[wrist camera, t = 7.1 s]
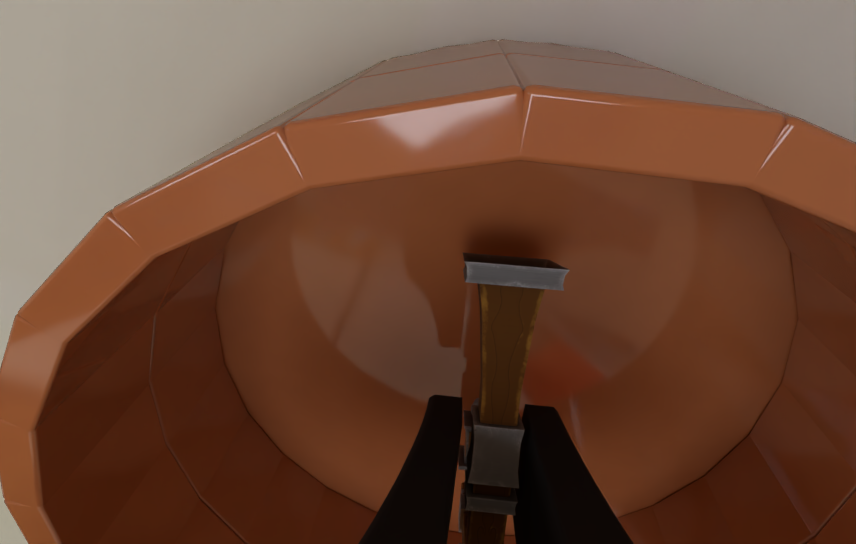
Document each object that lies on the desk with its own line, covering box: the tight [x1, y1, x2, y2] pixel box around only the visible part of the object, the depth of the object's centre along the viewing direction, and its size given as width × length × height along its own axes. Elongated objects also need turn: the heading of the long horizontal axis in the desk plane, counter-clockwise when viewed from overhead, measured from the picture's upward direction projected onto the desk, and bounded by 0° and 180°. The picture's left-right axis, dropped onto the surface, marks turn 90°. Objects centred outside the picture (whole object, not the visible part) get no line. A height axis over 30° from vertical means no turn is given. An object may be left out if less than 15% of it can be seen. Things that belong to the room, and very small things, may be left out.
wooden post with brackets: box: [458, 253, 569, 544], centre depth 11 cm, size 2×8×4 cm, turn 177°
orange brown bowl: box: [0, 39, 856, 544], centre depth 10 cm, size 15×15×6 cm
